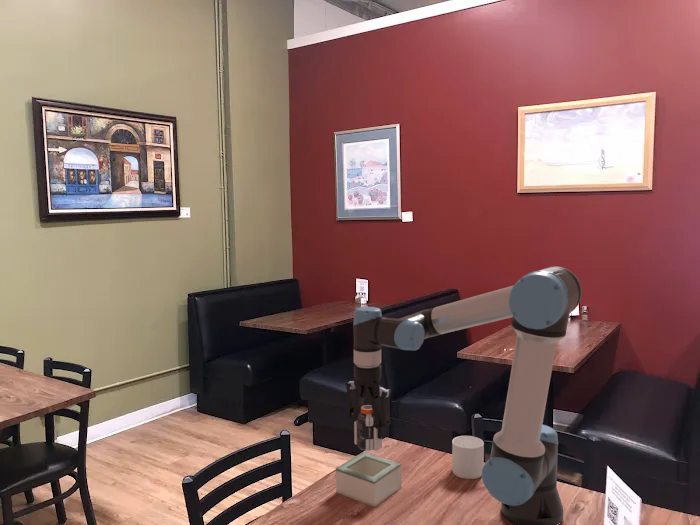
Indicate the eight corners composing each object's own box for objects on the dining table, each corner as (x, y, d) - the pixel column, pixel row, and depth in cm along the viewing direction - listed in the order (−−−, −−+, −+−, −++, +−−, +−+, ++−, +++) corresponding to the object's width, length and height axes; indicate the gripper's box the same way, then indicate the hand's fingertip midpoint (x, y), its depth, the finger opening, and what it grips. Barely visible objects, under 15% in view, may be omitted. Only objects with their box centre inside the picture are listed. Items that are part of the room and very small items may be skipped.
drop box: (401, 487, 161) (401, 463, 160) (374, 507, 151) (374, 481, 150) (364, 474, 169) (363, 451, 168) (336, 492, 159) (335, 468, 158)
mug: (485, 480, 165) (486, 448, 164) (453, 479, 165) (453, 448, 164) (479, 461, 177) (479, 431, 176) (449, 460, 177) (449, 431, 176)
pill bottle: (377, 452, 155) (377, 411, 154) (355, 450, 156) (355, 410, 155) (380, 442, 161) (380, 403, 160) (359, 441, 162) (359, 402, 161)
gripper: (404, 366, 153) (404, 449, 156) (348, 355, 165) (349, 433, 167) (388, 373, 147) (389, 460, 150) (331, 361, 159) (333, 441, 161)
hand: (368, 445), depth 158 cm, fingers closed on pill bottle, 6 cm apart
